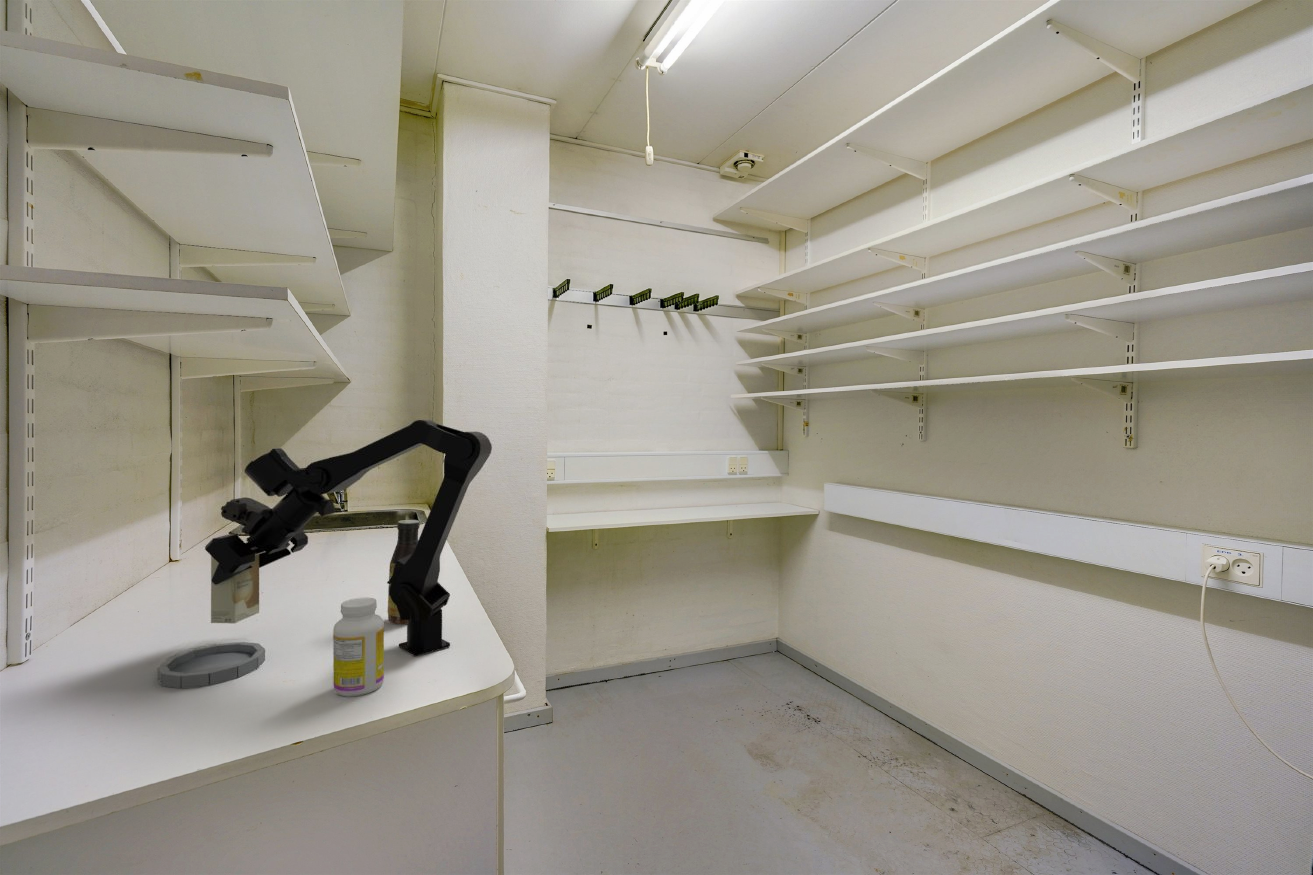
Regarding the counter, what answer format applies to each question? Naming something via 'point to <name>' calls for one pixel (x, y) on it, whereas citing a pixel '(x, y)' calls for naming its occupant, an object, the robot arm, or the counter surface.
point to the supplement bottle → (358, 648)
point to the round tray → (211, 664)
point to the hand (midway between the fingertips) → (228, 577)
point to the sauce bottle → (403, 549)
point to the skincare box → (235, 595)
